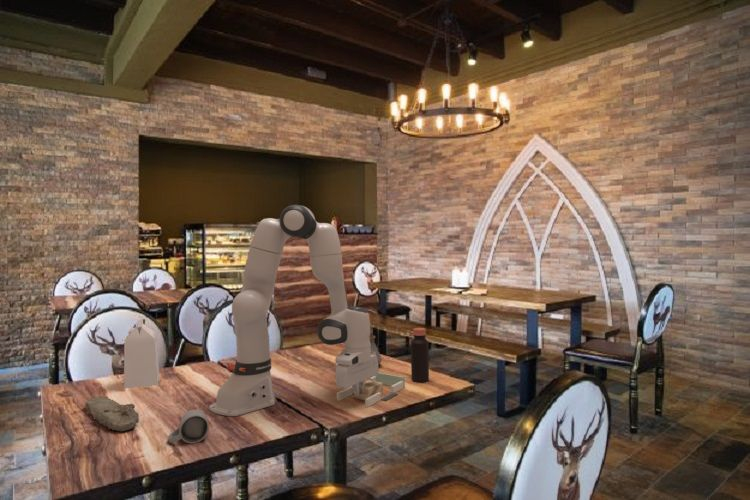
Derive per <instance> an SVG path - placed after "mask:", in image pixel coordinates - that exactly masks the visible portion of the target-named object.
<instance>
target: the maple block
mask: <svg viewBox="0 0 750 500" xmlns="http://www.w3.org/2000/svg"><path fill="white" fill-rule="evenodd" d="M383 389H384V384H383V383H381V382H376V381H371V380H370V379H367V380H365V385H364V388H363V393H362V394H360V395H358V396H357V395H354V394H353V395H354V396H353V397H354V399H358V400H363V401H365V399H366V398H368V397H370V396H372V395H374V394H376V393H378V392H379V393H381V395H383V394H384V391H383Z"/></svg>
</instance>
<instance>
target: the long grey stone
mask: <svg viewBox="0 0 750 500" xmlns="http://www.w3.org/2000/svg"><path fill="white" fill-rule="evenodd" d="M85 406H86V407H85ZM135 407H136V405H135V404H134V403H127V404H120V402H117V401H116V400H114V399H111V398H109V397H108V396H107V395H106V396H104V395H100V396H94V397H92V398H90V399H88V400H87V401H86V402H85V404H84V409H85V410H86V412H87V414H89V415H90V414H91V415H90V416H92V419H93V418H95V419H97V420H98V421H99V422H98V421H97V420H96V421H97V422H98V423H99V425H102V424H103V425H105V426H107V427H108V428H110V429H112V431H114V430H116V431H118V432H125V431H128V430H131V429H134V428H136V427H135V426H137V424H138V423H139V422H140V417H139V413H138V412H137V411H136V410H135ZM103 425H102V426H103ZM105 426H104V427H105ZM107 427H106V428H107ZM108 428H107V429H108Z"/></svg>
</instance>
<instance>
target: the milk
mask: <svg viewBox="0 0 750 500" xmlns="http://www.w3.org/2000/svg"><path fill="white" fill-rule="evenodd" d="M127 334H128V335H127V336H126V337H125V339H124V351H123V353H124V354H123V355H124V358H123V359H124V360H123V361H124V363H123V365H124V366H123V368H124V369H123V371H124V372H123V375H124V376H123V390H124V389H126V388H134V387H141V386H152V385H158V386H159V384H158V381H159V382H160V367H159V355H158V341H157V333H156V332H155V331H154V330H152V329H151V328H150V327H148V326H147V325H146V324H145V323H144V316H143V317H142V316H141V317H138V319H137V326H135V327H131V329H130V330H129V331H128V332H127Z"/></svg>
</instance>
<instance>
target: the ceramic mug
mask: <svg viewBox="0 0 750 500" xmlns="http://www.w3.org/2000/svg"><path fill="white" fill-rule="evenodd" d="M209 426H210V425H209V421H208V418H207V416H206V414H205V413H204V412H203V411H202V410H199V409H191V410H188V411H186V412H185V413H184V414H183V415H182V417H181V419H180V421H179V427H177V428H176V429H175V430H173V431H172V432H170V433H169V435H168V436H167V440H168V442H169V444H173V443H177V442H179V441H181V440H182V441H184V443H188V444H197V443H199V442H201V441H202V440H205V437H206V436H207V435H208V433H209V430H210V427H209ZM196 442H197V443H196Z"/></svg>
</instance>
